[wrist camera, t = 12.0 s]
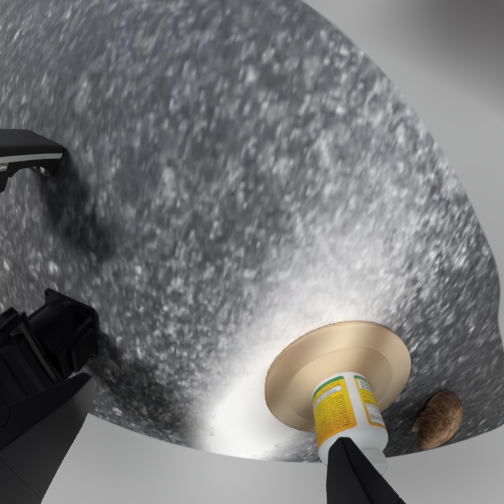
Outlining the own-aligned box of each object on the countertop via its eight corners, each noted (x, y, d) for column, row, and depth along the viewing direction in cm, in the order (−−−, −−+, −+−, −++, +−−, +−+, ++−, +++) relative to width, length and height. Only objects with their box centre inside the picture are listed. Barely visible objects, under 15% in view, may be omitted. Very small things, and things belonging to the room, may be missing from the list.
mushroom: (397, 455, 23) (435, 468, 17) (395, 407, 24) (438, 417, 18) (433, 421, 26) (469, 428, 20) (432, 375, 27) (472, 377, 21)
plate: (248, 416, 25) (248, 424, 24) (293, 304, 21) (294, 311, 20) (366, 428, 25) (368, 434, 24) (430, 332, 21) (435, 338, 20)
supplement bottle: (374, 367, 21) (410, 451, 12) (359, 406, 22) (381, 485, 13) (316, 369, 21) (333, 465, 12) (306, 410, 23) (315, 495, 13)
